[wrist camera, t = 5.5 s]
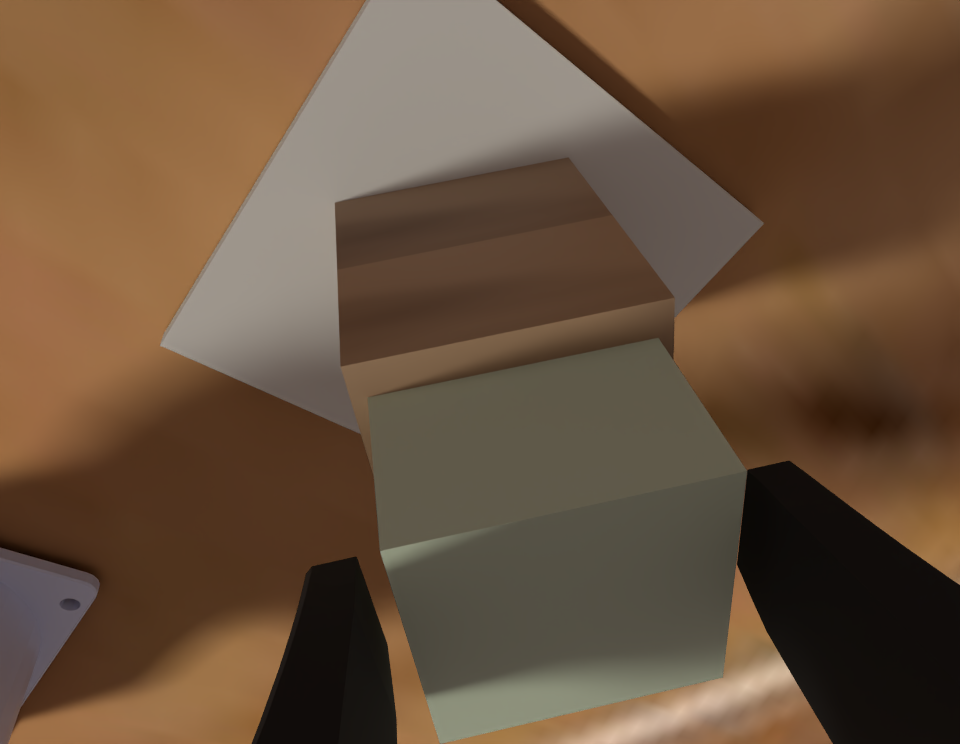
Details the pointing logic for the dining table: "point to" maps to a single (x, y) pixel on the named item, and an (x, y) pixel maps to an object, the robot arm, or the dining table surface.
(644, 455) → the pale green cube
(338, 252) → the tower base
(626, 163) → the felt mat
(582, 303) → the tower top
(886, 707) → the robot arm
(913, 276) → the dining table surface
